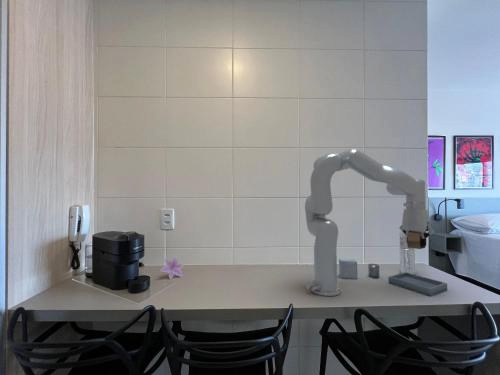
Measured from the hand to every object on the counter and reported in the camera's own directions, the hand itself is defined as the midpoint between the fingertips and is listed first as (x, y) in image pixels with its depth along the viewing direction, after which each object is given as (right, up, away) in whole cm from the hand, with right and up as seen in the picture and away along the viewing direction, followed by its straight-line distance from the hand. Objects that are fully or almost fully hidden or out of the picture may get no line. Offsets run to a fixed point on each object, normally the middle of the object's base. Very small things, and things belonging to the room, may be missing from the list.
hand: (416, 245), depth 116 cm
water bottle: (+8, -19, +19) cm, 28 cm away
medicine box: (-27, -19, +12) cm, 35 cm away
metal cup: (-13, -19, +13) cm, 26 cm away
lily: (-116, -20, +14) cm, 119 cm away
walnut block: (0, -1, 0) cm, 1 cm away
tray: (0, -19, 0) cm, 19 cm away
